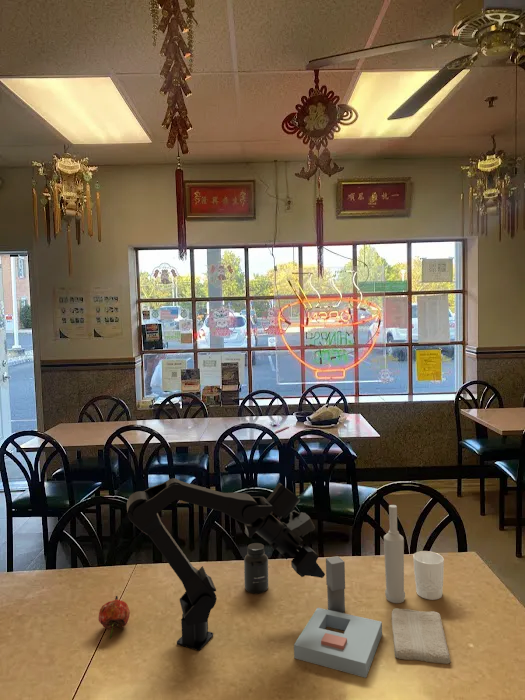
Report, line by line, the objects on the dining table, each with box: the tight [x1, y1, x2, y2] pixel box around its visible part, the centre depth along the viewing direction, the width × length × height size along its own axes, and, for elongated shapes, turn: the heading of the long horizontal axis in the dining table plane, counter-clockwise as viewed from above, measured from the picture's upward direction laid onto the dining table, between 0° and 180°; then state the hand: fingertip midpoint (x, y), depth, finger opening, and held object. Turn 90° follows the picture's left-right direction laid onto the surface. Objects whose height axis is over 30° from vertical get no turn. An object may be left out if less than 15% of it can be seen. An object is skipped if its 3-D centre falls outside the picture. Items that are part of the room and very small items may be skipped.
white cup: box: [412, 550, 445, 601], centre depth 132 cm, size 8×8×10 cm
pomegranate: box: [98, 595, 131, 640], centre depth 120 cm, size 7×7×10 cm
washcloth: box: [391, 607, 452, 665], centre depth 113 cm, size 12×18×3 cm, turn 168°
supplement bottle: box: [243, 542, 269, 594], centre depth 138 cm, size 7×7×12 cm
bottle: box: [383, 504, 406, 604], centre depth 130 cm, size 5×5×25 cm
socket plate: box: [293, 607, 383, 679], centre depth 111 cm, size 16×16×4 cm
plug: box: [325, 555, 346, 613], centre depth 126 cm, size 4×4×13 cm
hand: (316, 567), depth 124 cm, fingers open, 9 cm apart
